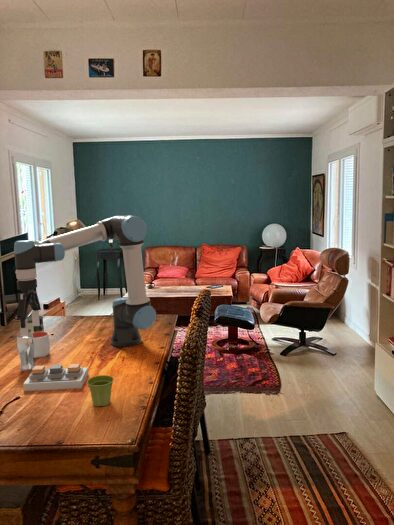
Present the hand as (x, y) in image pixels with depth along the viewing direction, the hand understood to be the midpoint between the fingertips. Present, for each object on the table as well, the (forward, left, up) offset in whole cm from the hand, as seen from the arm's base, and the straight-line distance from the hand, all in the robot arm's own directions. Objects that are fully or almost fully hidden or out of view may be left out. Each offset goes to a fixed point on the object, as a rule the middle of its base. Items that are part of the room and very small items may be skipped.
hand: (30, 330), depth 181 cm
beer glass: (+6, -12, -21) cm, 25 cm away
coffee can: (+13, -45, -21) cm, 51 cm away
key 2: (-18, +5, -15) cm, 24 cm away
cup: (+6, -29, -21) cm, 36 cm away
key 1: (-4, +5, -15) cm, 17 cm away
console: (-11, +5, -20) cm, 24 cm away
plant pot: (-32, +26, -21) cm, 46 cm away
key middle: (-11, +5, -15) cm, 19 cm away
